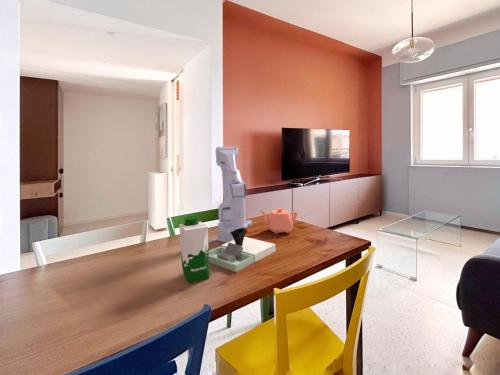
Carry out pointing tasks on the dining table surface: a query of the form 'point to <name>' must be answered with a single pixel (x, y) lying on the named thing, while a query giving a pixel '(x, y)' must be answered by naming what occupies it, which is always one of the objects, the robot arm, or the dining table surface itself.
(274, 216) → the teapot
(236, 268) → the box
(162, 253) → the dining table surface
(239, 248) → the tile
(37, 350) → the dining table surface
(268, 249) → the board
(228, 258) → the tile
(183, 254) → the milk carton
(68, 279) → the dining table surface
